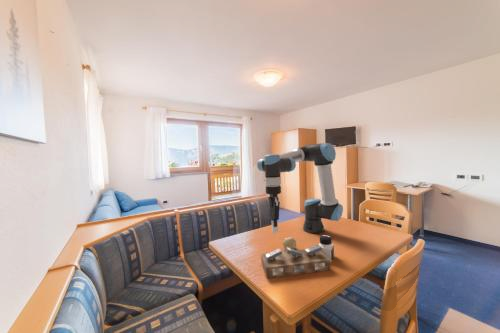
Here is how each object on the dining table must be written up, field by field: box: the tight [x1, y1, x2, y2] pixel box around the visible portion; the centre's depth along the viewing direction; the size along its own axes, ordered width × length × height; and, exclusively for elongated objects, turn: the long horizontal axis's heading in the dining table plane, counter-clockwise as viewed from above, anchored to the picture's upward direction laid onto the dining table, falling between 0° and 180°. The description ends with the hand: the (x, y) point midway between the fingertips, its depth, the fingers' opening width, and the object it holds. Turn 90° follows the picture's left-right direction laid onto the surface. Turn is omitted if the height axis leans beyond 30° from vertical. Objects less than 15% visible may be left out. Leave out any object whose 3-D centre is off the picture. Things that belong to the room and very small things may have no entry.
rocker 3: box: [305, 243, 322, 255], centre depth 102 cm, size 8×3×2 cm, turn 97°
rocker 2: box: [284, 247, 303, 257], centre depth 100 cm, size 8×3×2 cm, turn 98°
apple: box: [282, 236, 297, 250], centre depth 120 cm, size 8×8×8 cm
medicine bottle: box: [318, 234, 335, 263], centre depth 108 cm, size 7×7×12 cm
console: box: [260, 248, 331, 279], centre depth 101 cm, size 32×13×6 cm, turn 97°
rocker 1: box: [265, 248, 283, 261], centre depth 99 cm, size 8×3×2 cm, turn 97°
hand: (275, 232), depth 98 cm, fingers closed
